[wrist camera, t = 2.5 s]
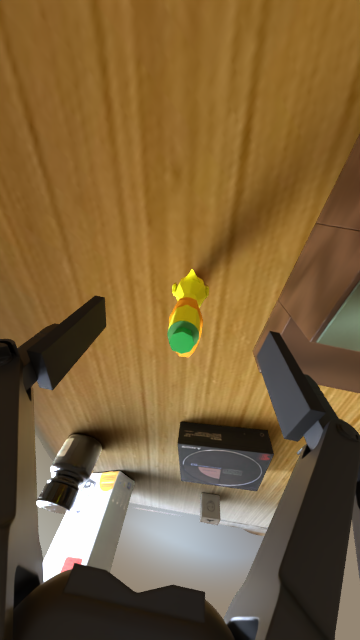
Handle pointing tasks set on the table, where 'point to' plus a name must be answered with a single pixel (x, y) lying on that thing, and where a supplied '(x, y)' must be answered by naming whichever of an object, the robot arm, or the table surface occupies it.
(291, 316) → the display shelf
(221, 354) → the table surface
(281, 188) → the table surface
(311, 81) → the table surface
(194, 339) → the toy figure
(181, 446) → the portable cd player
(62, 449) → the ink bottle
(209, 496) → the dice cube
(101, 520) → the hard drive box
